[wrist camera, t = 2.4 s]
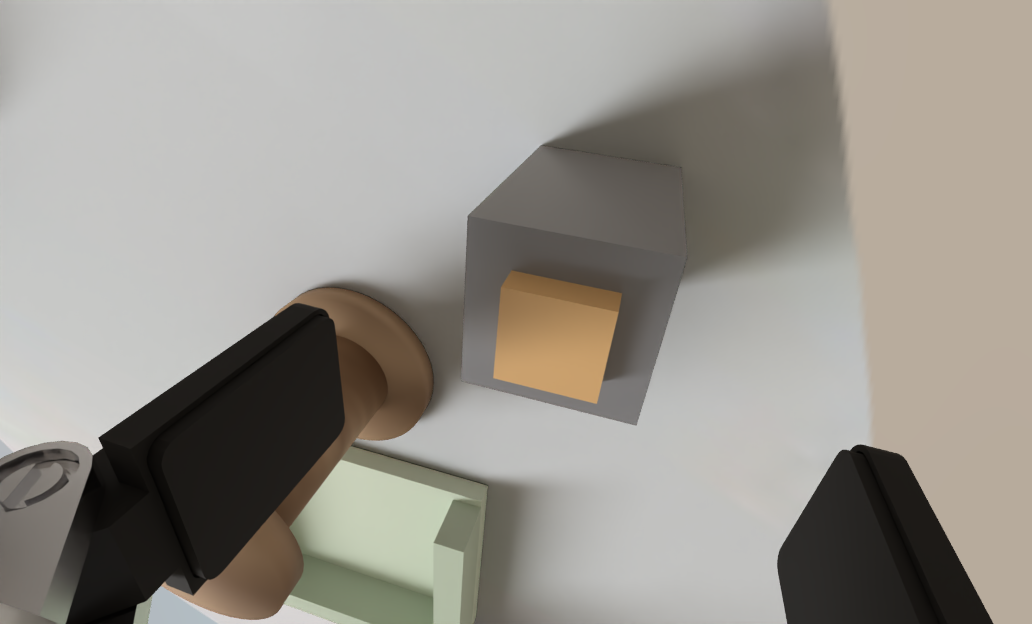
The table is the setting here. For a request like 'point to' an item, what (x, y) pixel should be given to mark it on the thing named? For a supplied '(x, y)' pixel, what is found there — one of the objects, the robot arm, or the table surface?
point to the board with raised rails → (390, 544)
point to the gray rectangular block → (573, 280)
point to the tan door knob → (368, 415)
